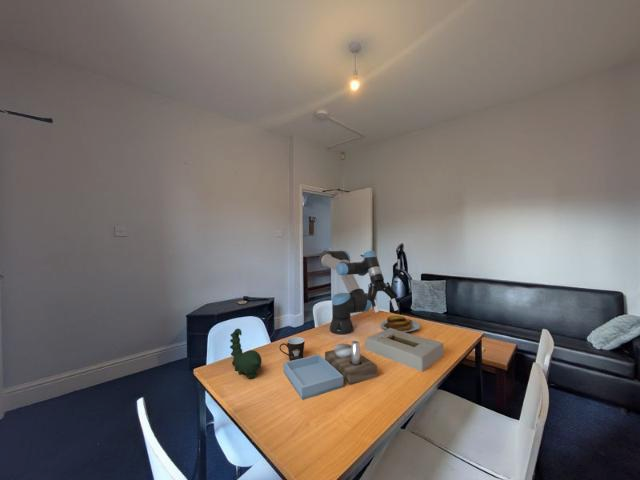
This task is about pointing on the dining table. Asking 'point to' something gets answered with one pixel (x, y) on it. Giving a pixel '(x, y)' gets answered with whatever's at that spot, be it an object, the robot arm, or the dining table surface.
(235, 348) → the toy figurine
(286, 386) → the dining table surface
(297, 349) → the coffee mug
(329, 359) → the block
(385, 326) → the food on plate
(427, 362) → the slotted block
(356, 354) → the lock pin
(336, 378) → the tray
